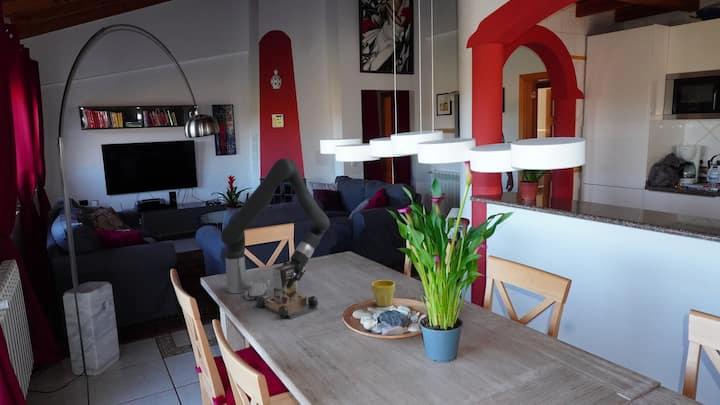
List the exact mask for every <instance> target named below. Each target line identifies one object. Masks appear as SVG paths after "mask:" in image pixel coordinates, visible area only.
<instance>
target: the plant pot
mask: <svg viewBox="0 0 720 405" xmlns="http://www.w3.org/2000/svg"><path fill="white" fill-rule="evenodd" d="M395 291H396V283H395V282H394V281H393V280H390V279H380V280H375V281H373V282H372V283H371V292H372V293H373V295H374V298H375V299H374V300H375V303H376V306H377V307H379V306H380V307H381V306H388V307H390V306H392V304H393V298H394V293H395ZM381 308H382V307H381Z"/></svg>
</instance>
